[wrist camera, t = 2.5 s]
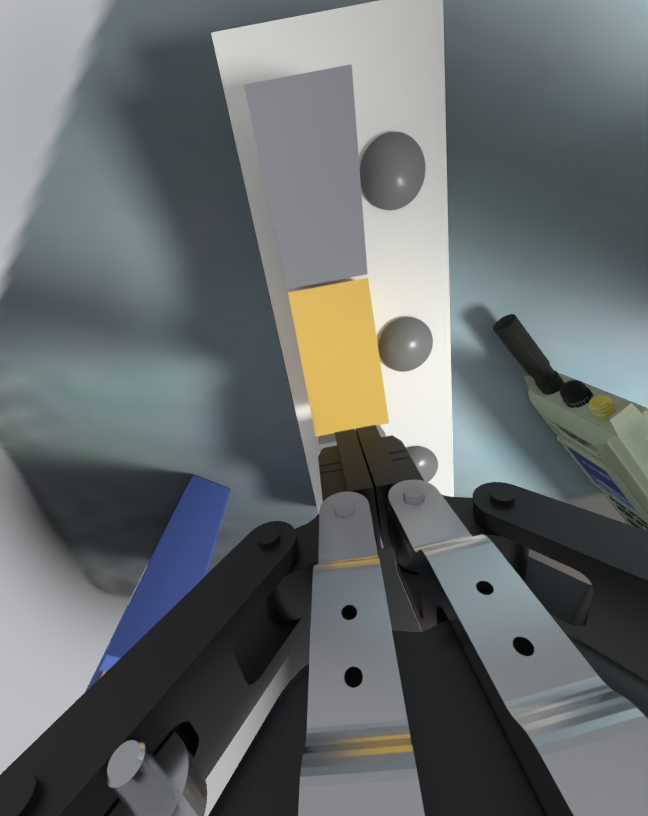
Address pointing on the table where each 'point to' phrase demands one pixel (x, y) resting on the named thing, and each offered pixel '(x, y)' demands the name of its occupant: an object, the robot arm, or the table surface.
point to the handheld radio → (588, 425)
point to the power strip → (370, 202)
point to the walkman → (171, 566)
